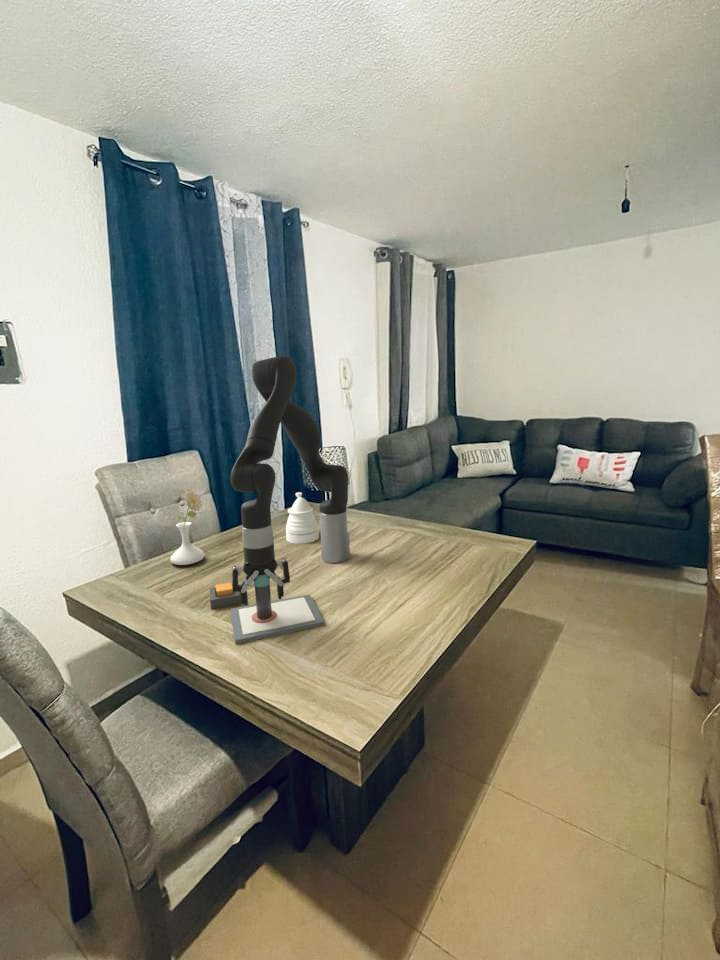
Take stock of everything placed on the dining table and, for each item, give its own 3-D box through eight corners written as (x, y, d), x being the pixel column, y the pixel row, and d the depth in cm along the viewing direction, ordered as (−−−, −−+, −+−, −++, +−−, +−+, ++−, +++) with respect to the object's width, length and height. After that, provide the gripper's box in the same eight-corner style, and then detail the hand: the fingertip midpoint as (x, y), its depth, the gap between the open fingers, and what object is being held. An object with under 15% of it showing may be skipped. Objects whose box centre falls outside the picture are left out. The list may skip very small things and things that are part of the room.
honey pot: (282, 535, 179) (279, 492, 175) (312, 530, 185) (310, 488, 181) (291, 545, 168) (288, 500, 164) (323, 540, 173) (321, 495, 169)
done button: (232, 588, 130) (231, 582, 129) (233, 595, 125) (232, 588, 125) (216, 591, 128) (215, 585, 128) (216, 598, 124) (216, 591, 124)
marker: (271, 610, 118) (267, 568, 115) (273, 617, 114) (270, 574, 111) (255, 613, 116) (252, 571, 114) (257, 621, 113) (254, 577, 110)
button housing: (238, 591, 132) (237, 583, 132) (240, 603, 125) (240, 595, 124) (210, 596, 130) (209, 588, 129) (211, 608, 122) (210, 600, 122)
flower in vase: (184, 570, 148) (176, 498, 142) (163, 564, 154) (154, 494, 148) (215, 557, 159) (208, 489, 153) (195, 551, 165) (187, 486, 159)
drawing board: (309, 597, 127) (309, 592, 127) (324, 625, 113) (324, 620, 112) (230, 612, 120) (230, 607, 120) (235, 644, 105) (234, 638, 105)
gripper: (283, 533, 116) (287, 590, 120) (227, 541, 112) (233, 599, 115) (289, 542, 109) (293, 602, 113) (229, 551, 105) (235, 613, 108)
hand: (263, 601), depth 114 cm, fingers open, 8 cm apart
